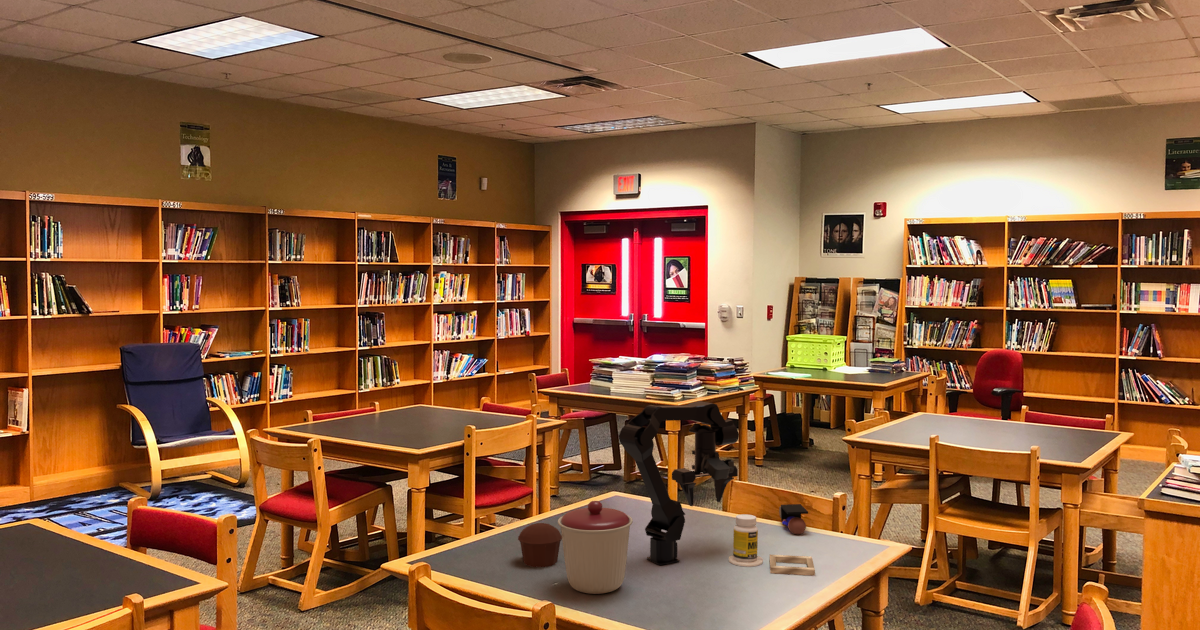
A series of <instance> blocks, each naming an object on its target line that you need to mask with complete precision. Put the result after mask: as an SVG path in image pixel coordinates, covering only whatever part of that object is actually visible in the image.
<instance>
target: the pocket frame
mask: <svg viewBox="0 0 1200 630" xmlns="http://www.w3.org/2000/svg"><path fill="white" fill-rule="evenodd" d="M777 563H786V564H787V563H789V564H803V565H804V564H805V565H806V566H805V567H803V566H802V567H800V566H788V565H786V566H784V565H777ZM769 569H770V570H769V571H770V574H779V575H780V574H781V575H795V576H796V575H799V576H813V577H814V576H816V575H815V574H816V573H815V571H816V569H815V565H814V561H813V556H805V555H804V556H803V555H785V554H769Z"/></svg>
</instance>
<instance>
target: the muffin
mask: <svg viewBox="0 0 1200 630" xmlns="http://www.w3.org/2000/svg"><path fill="white" fill-rule="evenodd" d="M517 540H518V541H519V543H520V549H521V554H522V561H523V563H524V564H525V566H528V567H532V568H546V567H551V566H552V567H553V566H555V565H556V564H557V563H558V559H559V552H560V545H561V541H562V534H561V532H560V530H559V529H558V528H557V527H555V526H554V525H552V524H550V523H544V522H537V523H532V524H530V525H529V524H528V526H526V527H524V529H522V530H521V531H520V533H519V534H518V536H517Z"/></svg>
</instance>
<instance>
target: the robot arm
mask: <svg viewBox="0 0 1200 630" xmlns="http://www.w3.org/2000/svg"><path fill="white" fill-rule="evenodd" d="M665 421H693V422H694V424H693V425H692V426H691V427H690V428H689V429H688V432H689V433H694V449H693V450H691V454H692V455H694V464H692V465H691V469H688V468H684V467H683V468H677V469H675V468H674V469H673V470H672V473H671V480H673V481H675V483H677V484H679V486H680V487H681V490H682V492H683V494H684V495H685V498H686V500H687V503H688V505H689V507H693V506H694V494H695V493H694V488H695V486H696V484H697V483H696V482H694V481H695V480H696V478H703V477H709V476H710V477H711V479H713V481H714V482H713V483H714V492H715V500H716V502H717V503H721V500H722V498H723V495H724V492H725V489H726V487H727V485H728V484H729V483H730V482H731V481H733V480H734V479H735V477H738V476H739V470H738V468H737V466H736V465H735V461H734V460H733V459H732V458H729V459H721V457H720V454H719V452H720V451H719V452H718V451H717V448H716V447H720V446H725V445H726V446H727V445H732V444H734V445H735V444H736V443H737V442H738V441H739V437H740V433H739V430H738V428H737V426H736V424H734V420H733V419H725V418H724V416H723V415H722V413H721V411H720V407H719V405H718V404H717V403H713V402H707V401H701V400H699V401H694V402H693V401H692V402H690V403H688V404H686V405H652V404H649V405H646V406H645V407H644V408H643V409H642V411H641V412H639V413H638V414H636V415H635V416H633V417H632V418H631V419H629V420H628V422H627V423H626V424H625V425H624V426H623V427H622V428H621V429H620V431H619V434H618V439H619V442H620V444H621V446H622V447H623V449H624V450H625V451H626V452H627V454H629V456H631V458H632V459H633V460H634V462H635V464H636V466H637V468H638V472H639V474H640V477H641V478H642V481H643V483H644V486H645V489H646V491H647V494H648V497H649V498H650V501H651V504H652V506H651V510H650V514H651V517H652V518H651V519H650V520H649V522H648V523H647V525H646V526H645V527H644V532H645V535H646V537H647V536H648V537H650V540H649V541H650V542H649V543H650V544H649V545H650V546H649V547H650V548H649V549H650V550H649V556H647V557H646V560H648V561H650V562H652V563H654V564H656V565H658V566H662V565H668V564H674V563H679V562H680V559H678V542H677V541H680V540H681V537H682V534H683V531H684V526H685V523H686V519H685V518H686V517H685V515H686V512H685V511H684V509H683V506H682V504H681V502H680V501H678V500H674V499H671V498H670V495H669V493H668V490H667V487H666V484H665V482H664V480H663V478H662V475H661V472H660V470H659V467H658V465H657V462H656V460H655V458H654V455H653V452H654V446H655V444H654V440H653V439H654V438H655V437H656V436H657V434H658V433H659V429H660V426H661V423H662V422H665ZM697 422H698V423H697ZM648 423H649V424H648ZM700 423H701V424H700ZM646 424H648V425H647V426H646V427H645V425H646Z"/></svg>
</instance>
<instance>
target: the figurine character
mask: <svg viewBox="0 0 1200 630" xmlns="http://www.w3.org/2000/svg"><path fill="white" fill-rule="evenodd" d="M778 509H779V510H778V513H779V517H780V518H781V519H780V521H781V524H782V525H785V526H787V527H788V529H789V532H790V533H791V534H794V535H796V536H797V535H801V534H802V535H803V533H804V532H805V531H806V528H807V524H806V522H805V520H804V519H803V518H802V515H808V514H809V511H808V510H807V509H806V508H805V506H803V505H802V504H800V503H795V504H793V503H792V504H791V503H789V504H780V506H779V507H778Z"/></svg>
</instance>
